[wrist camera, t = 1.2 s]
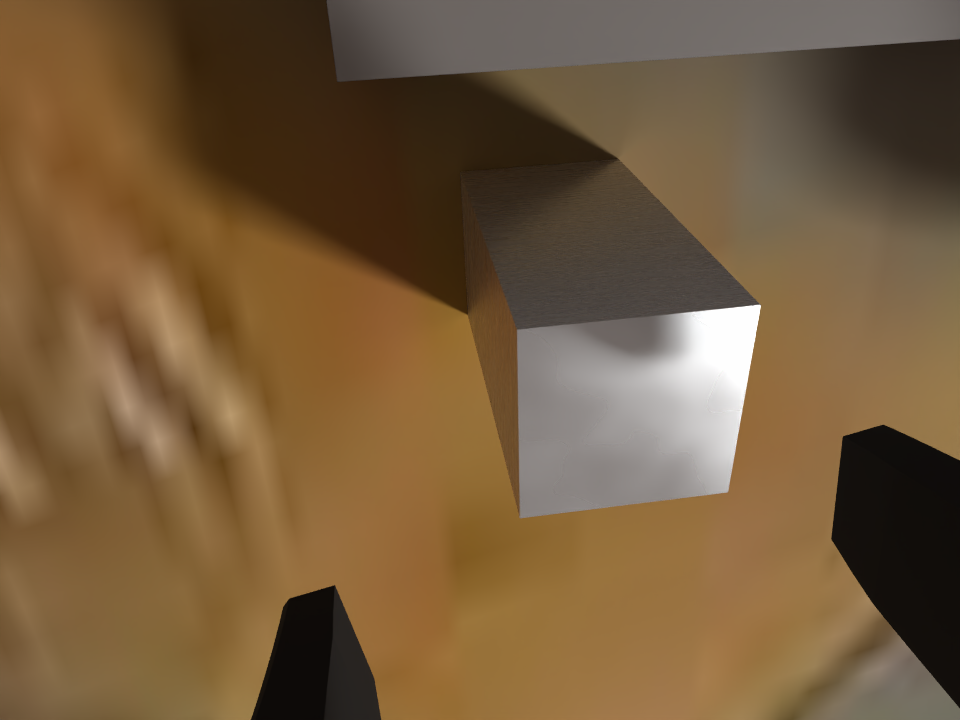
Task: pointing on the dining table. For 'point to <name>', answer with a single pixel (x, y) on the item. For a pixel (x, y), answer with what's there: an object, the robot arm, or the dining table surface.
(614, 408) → the square peg
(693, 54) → the socket block
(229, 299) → the dining table surface
